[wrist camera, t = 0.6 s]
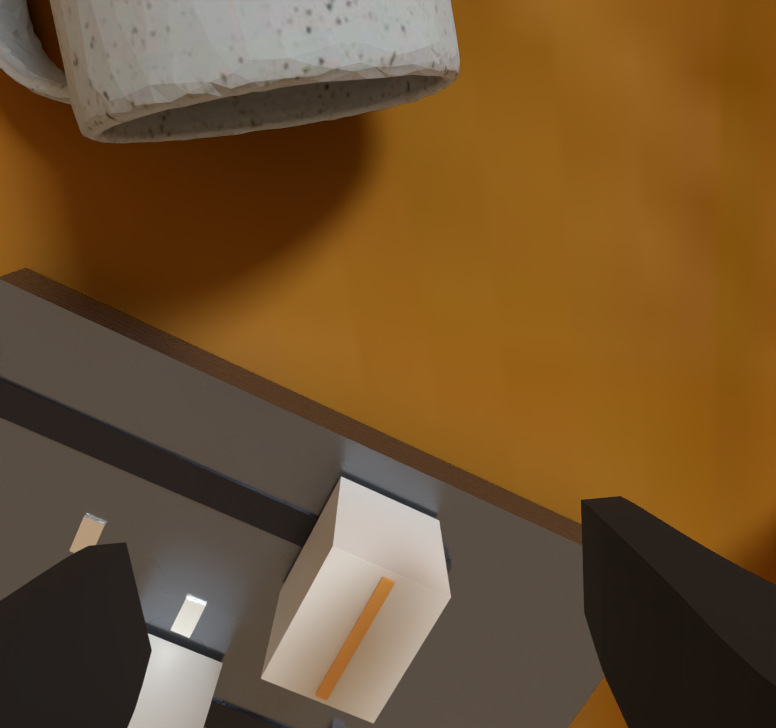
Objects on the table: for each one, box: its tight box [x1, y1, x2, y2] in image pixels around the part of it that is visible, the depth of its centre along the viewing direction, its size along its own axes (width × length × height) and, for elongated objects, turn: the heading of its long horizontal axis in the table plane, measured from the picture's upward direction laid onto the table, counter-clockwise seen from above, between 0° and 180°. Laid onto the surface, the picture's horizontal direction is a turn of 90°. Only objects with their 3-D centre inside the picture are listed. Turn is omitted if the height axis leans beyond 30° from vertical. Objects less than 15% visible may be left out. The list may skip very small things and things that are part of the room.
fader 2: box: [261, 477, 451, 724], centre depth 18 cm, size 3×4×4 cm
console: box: [0, 268, 605, 728], centre depth 22 cm, size 20×13×2 cm, turn 63°
